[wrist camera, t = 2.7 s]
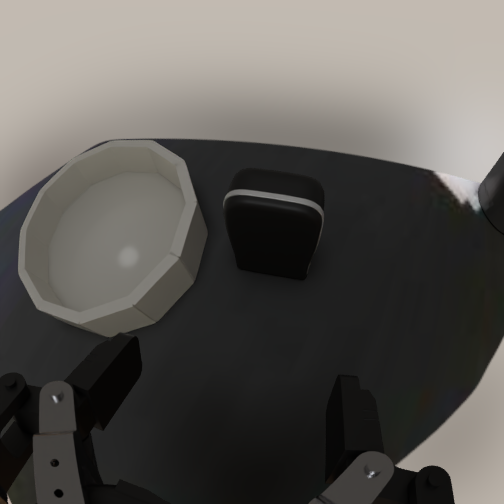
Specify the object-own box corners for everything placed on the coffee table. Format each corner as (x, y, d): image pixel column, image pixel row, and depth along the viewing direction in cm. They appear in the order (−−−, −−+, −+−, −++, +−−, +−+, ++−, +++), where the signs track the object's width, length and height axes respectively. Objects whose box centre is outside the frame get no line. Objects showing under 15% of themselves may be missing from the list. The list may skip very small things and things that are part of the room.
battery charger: (313, 246, 30) (332, 169, 20) (307, 282, 29) (327, 216, 18) (243, 234, 31) (230, 155, 21) (234, 269, 30) (215, 199, 19)
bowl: (224, 176, 35) (217, 142, 30) (176, 356, 26) (155, 347, 21) (85, 169, 37) (67, 142, 32) (26, 307, 29) (-4, 291, 24)
